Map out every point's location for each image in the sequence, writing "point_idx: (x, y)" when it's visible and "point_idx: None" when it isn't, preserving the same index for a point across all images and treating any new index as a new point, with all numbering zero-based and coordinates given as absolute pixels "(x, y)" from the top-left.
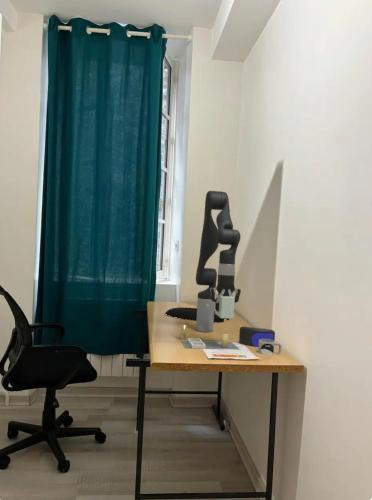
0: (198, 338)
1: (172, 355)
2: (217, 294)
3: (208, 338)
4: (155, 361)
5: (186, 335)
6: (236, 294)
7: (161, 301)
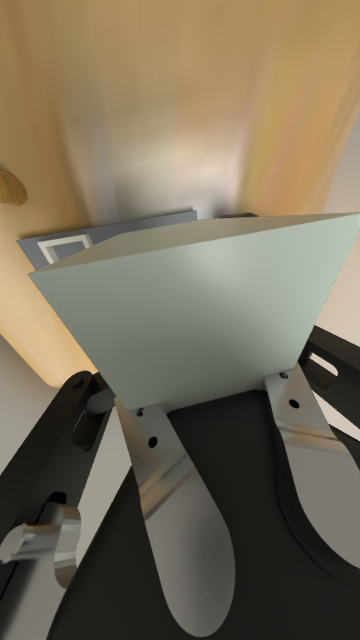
0: (79, 236)
1: (62, 351)
2: (103, 366)
3: (98, 45)
4: (51, 385)
5: (5, 187)
6: (357, 398)
7: None
